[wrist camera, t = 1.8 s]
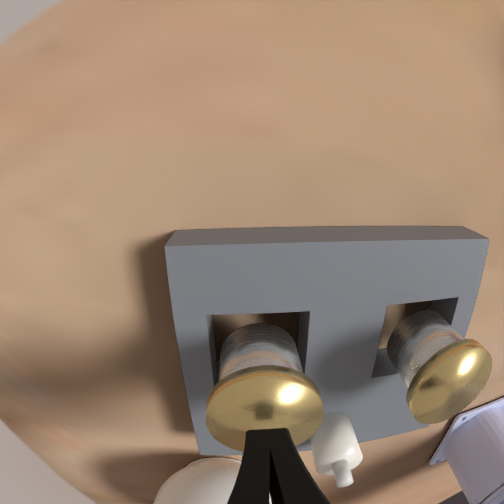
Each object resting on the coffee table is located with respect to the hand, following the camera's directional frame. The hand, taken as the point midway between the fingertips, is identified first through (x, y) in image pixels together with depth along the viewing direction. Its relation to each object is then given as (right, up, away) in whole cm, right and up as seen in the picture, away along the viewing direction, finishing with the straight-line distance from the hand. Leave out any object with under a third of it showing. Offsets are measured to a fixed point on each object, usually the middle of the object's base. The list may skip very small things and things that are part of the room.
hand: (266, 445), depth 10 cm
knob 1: (0, +2, +5) cm, 6 cm away
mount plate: (+4, +1, +8) cm, 9 cm away
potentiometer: (+4, -4, +7) cm, 9 cm away
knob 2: (+8, +2, +5) cm, 10 cm away
